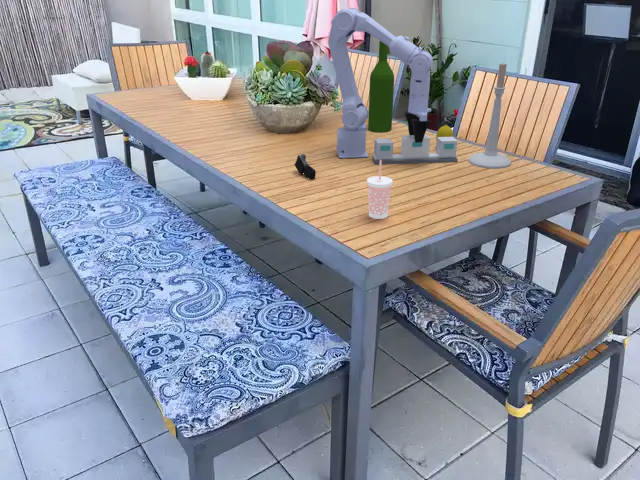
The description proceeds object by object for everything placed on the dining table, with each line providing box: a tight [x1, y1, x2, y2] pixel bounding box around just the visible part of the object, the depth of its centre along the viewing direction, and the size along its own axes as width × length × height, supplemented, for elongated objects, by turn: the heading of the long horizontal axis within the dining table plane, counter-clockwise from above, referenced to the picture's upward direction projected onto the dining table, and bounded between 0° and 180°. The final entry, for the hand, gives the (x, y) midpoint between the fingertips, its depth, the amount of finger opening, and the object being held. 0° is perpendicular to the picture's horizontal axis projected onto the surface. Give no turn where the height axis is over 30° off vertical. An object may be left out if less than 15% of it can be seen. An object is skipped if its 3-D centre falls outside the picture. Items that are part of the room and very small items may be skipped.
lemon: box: [435, 124, 454, 141], centre depth 179 cm, size 6×6×8 cm
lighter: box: [294, 153, 317, 180], centre depth 156 cm, size 9×2×6 cm
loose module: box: [400, 134, 431, 158], centre depth 167 cm, size 4×8×6 cm, turn 94°
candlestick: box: [468, 63, 512, 170], centre depth 161 cm, size 13×13×30 cm
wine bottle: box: [367, 40, 395, 133], centre depth 197 cm, size 9×9×32 cm
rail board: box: [371, 136, 458, 165], centre depth 168 cm, size 26×6×7 cm, turn 94°
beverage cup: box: [366, 160, 394, 220], centre depth 127 cm, size 6×6×14 cm
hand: (415, 138), depth 166 cm, fingers open, 7 cm apart
